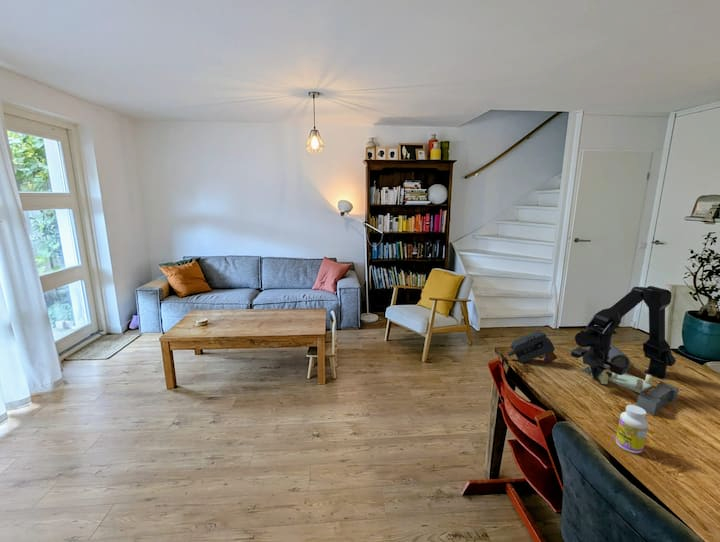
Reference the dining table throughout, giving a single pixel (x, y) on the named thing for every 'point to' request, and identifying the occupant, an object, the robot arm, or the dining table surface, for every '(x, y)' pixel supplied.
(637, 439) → the supplement bottle
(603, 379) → the brass door handle
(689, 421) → the dining table surface
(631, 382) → the rack
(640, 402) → the grey bone-shaped bar
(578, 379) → the dining table surface
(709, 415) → the dining table surface
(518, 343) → the tool
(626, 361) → the bluetooth speaker
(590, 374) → the flange
